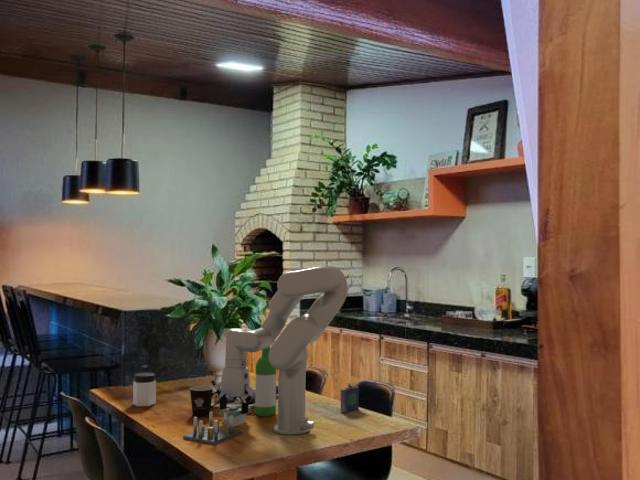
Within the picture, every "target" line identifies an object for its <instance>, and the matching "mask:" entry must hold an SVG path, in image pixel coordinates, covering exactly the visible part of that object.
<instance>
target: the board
mask: <svg viewBox="0 0 640 480" xmlns="http://www.w3.org/2000/svg"><path fill="white" fill-rule="evenodd" d="M241 408H242V404H241V405H240V404H236V405H233V406H230V407H227V408H226V409H223V410H220V416H223V417H224V412H227V416H229V417H230V415H233V417H236V416H239V415H242V414H241ZM249 412H252V406H249V409H248V413H249Z"/></svg>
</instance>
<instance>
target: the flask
mask: <svg viewBox="0 0 640 480" xmlns="http://www.w3.org/2000/svg"><path fill="white" fill-rule="evenodd" d="M346 385H347V386H346V387H344V388H340V413H341V414H347V413H351V412H355V411H359V408H360V407H359V402H360V401H359V400H360V396H359V394H360V387H359V386H357V385H352V384H351V383H350V382H347V383H346Z"/></svg>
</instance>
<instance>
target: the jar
mask: <svg viewBox="0 0 640 480" xmlns="http://www.w3.org/2000/svg"><path fill="white" fill-rule="evenodd" d="M133 379H134V380H133V381H132V404H133V405H134V406H136V407H150V406H154V405H156V404H157V380H156V373H153V372H138V373H135V374H134V378H133Z"/></svg>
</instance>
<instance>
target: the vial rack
mask: <svg viewBox="0 0 640 480" xmlns="http://www.w3.org/2000/svg"><path fill="white" fill-rule="evenodd" d="M213 416H214V411H210V412H209V416H208V419H209V420H208V423H209V424H208V426H206V427H205V425H204V423H203V422H204V421H203V420H200V419H199V420H198V417H195V416H193V431H192V432H190V433H189V432H188V433H187V434H185V435H182V436H183V440H188V441H193V442H199V443H204V444H208V445H212V446H215V445H218V444H220V443H223V442H225V441H227V440H229V439H232V438H235V437H237V436H239V435H243V433H244V431H243V430H241V429H236V428H234V427H233V415H230V427H228V422H227V412H224V416H223V422H222V423H221V426H220V420H218V419H213V418H214V417H213Z"/></svg>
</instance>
